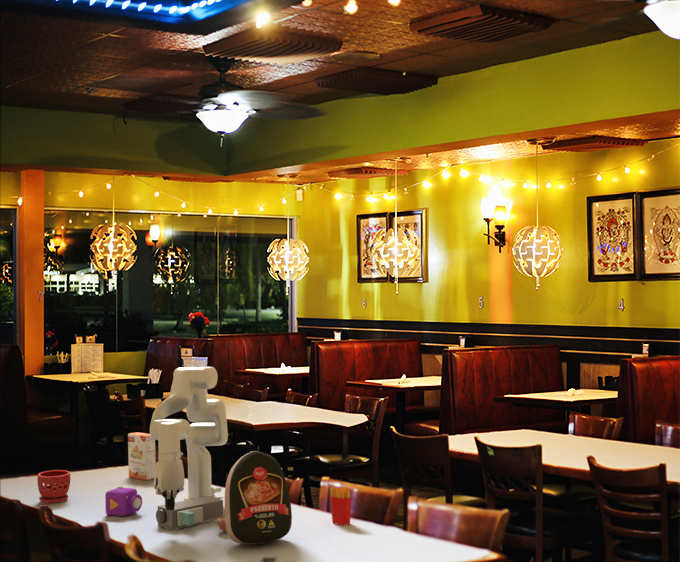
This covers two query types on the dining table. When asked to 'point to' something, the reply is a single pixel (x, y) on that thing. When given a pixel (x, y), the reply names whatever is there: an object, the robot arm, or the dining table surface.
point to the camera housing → (209, 504)
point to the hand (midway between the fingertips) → (170, 509)
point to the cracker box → (141, 456)
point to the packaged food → (257, 500)
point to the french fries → (340, 505)
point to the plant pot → (53, 486)
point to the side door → (190, 516)
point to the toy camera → (122, 501)
